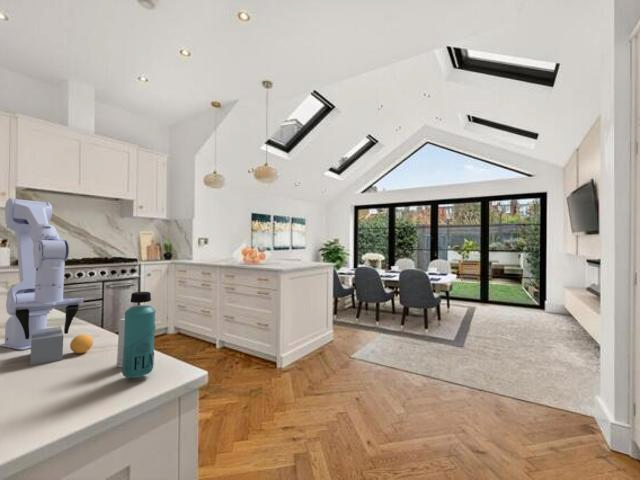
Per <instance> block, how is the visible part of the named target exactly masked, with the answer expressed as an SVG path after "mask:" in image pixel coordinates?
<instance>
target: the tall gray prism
mask: <svg viewBox="0 0 640 480" xmlns="http://www.w3.org/2000/svg"><path fill="white" fill-rule="evenodd" d="M63 350H64V331H63V329H62V327H61V326H56V327H47V328H46V329H38V330H32V336H31V348H30V366H32V367H33V366H37V365H43V364H48V363H53V362H58V361H63V352H64V351H63Z"/></svg>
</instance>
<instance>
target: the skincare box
mask: <svg viewBox="0 0 640 480" xmlns="http://www.w3.org/2000/svg"><path fill="white" fill-rule="evenodd" d="M124 328H125V317H124V318H121V319H119V323H118V334H117V335H118V339H117V340H118V341H117V355H116V367H117V368H122V367H123V354H122V353H123V348H124Z"/></svg>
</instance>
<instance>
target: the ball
mask: <svg viewBox="0 0 640 480" xmlns="http://www.w3.org/2000/svg"><path fill="white" fill-rule="evenodd" d="M93 344H94V340H93V337H92V336H91V335H88V334H85V333H84V334H78V335H77V336H75V337H74V338H73V339H72V340H71V341H70V343H69V348H70V350H71V351H72V352H73V353H75V354H84V353H87V352H89V350H90V349H91V348H92V347H93Z"/></svg>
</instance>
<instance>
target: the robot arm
mask: <svg viewBox="0 0 640 480" xmlns="http://www.w3.org/2000/svg"><path fill="white" fill-rule="evenodd" d="M4 208H5V209H4V216H5V217H4V218H5V219H4V220H5V224H6V229H9V230H11V231H13V232H14V235H15V238H16V250H17V252H16V253H17V263H18V265H17V266H18V277H19V282H18V283H16V284H14V285H13V286H11V287H10V288H9V289H8V291H7V293H6V302H5V307H6V308H5V309H6V313H7V314H8V315H9V316H10V317H9V318H8V319H7V320H6V322H5V332H4V342H3V343H1V344H0V347H5V348H9V349H15V350H19V351H25V350H27V349H31V336H32V330H38V329H46V328H48V326H47V325H48V314H50V313H51V312H50V311H52V310H54V308H65V322H64V327H63V330H64V331H63V334H65V335H67V334H69V330H70V327H71V324H72V321H73V320H74V318H75V315H76V314H77V313H78V312H79V307H80V306H84V298H83V297H78V298H73V297H72V298H64V285H65V282H64V281H65V267H66V264H65V262H67V260H68V258H69V255H70V246H69V245H70V244H69V242H68V240H67V239H64V238H61V237H60V235H59V233H58V231H57V229H56V227H55V226H54V225H53V224H50V221H51V219H52V216H53V206H52V204H51V203H50V202H49V201H40V200H39V201H37V200H27V199H20V198H19V199H17V198H13V197H9V199H7V200H6V202H5V205H4Z"/></svg>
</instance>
